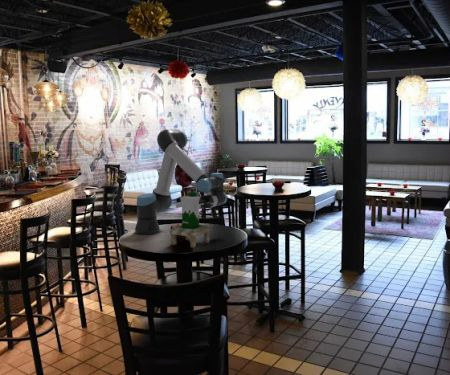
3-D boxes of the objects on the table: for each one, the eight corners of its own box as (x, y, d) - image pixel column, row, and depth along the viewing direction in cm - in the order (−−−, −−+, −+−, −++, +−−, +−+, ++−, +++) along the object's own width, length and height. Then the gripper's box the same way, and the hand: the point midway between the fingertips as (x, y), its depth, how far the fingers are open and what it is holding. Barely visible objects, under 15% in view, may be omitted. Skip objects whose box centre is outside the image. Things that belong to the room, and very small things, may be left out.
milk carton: (202, 228, 253) (201, 192, 251) (190, 231, 247) (189, 194, 244) (190, 226, 259) (190, 191, 257) (179, 229, 252) (178, 193, 250)
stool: (170, 244, 251) (169, 227, 250) (187, 238, 265) (187, 222, 264) (193, 248, 243) (193, 230, 242) (210, 241, 256) (210, 225, 255)
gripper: (226, 209, 261) (205, 215, 243) (191, 206, 274) (168, 211, 256) (226, 196, 260) (205, 201, 242) (191, 193, 273) (168, 198, 255)
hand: (186, 206), depth 249 cm, fingers open, 13 cm apart
